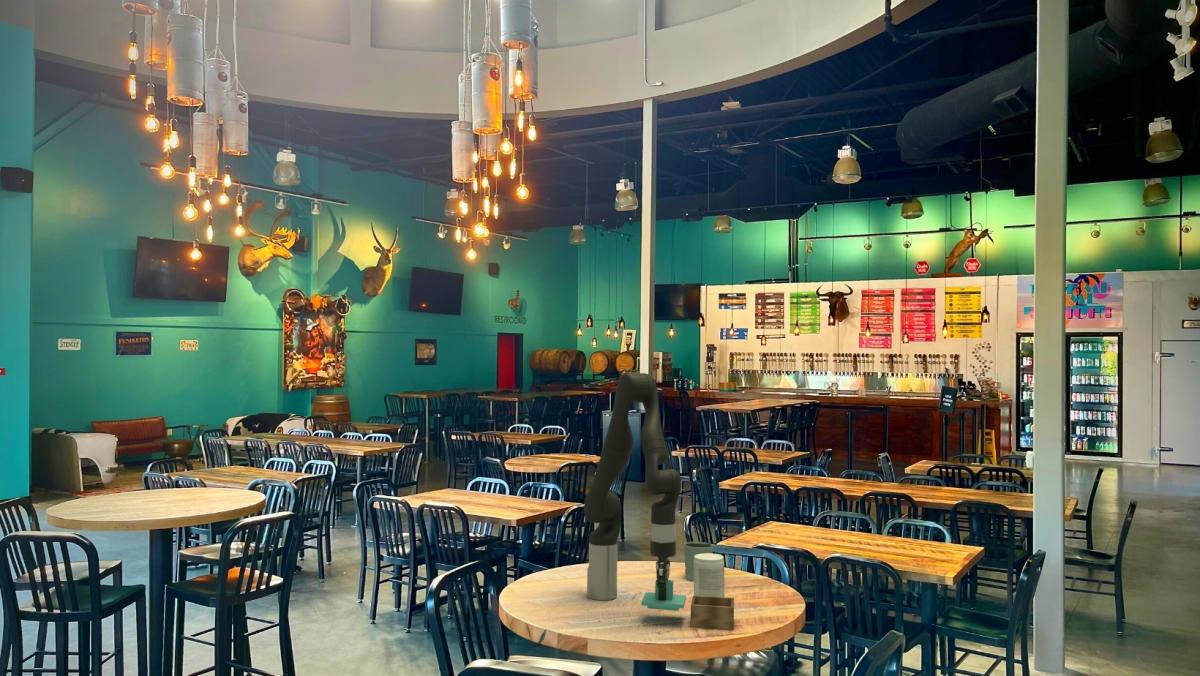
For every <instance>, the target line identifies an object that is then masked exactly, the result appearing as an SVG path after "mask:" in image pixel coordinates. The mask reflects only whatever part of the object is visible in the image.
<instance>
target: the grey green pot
mask: <svg viewBox="0 0 1200 676" xmlns="http://www.w3.org/2000/svg"><path fill="white" fill-rule="evenodd" d="M713 549H714V545H713V544H712V543H710V542H703V541H688V542H684V543H683V556H684V567H685V569H684V576H685V580H686V579H687V581H688V580H689V582H692V581H694V556H695V555H697V554H704V553H711V554H713Z"/></svg>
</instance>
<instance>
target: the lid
mask: <svg viewBox="0 0 1200 676" xmlns="http://www.w3.org/2000/svg"><path fill="white" fill-rule="evenodd" d="M660 582H664V581H661V580H660ZM654 584H655V585H654V592H647V591H645V593H644V596H643V597H642V600H641V601H640V602H641V603H640V604H641V606H646V608H647V609H650V610H660V611H661V610H662V611H663V610H664V611H677V612H679V609H684V607H685V603H686V600H687V595H685V594H674V580H671V579H668V580H667V587H666V600H665V601H663V600H659V599H658V587H657V578H656V580H655V582H654Z"/></svg>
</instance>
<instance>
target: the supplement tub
mask: <svg viewBox="0 0 1200 676" xmlns="http://www.w3.org/2000/svg"><path fill="white" fill-rule="evenodd" d="M693 595H695V596H711V597H726V596H725V558H724V556H723V555H722V554H717V553H712V554H711V553H704V554H697V555H695V556H694V582H693Z"/></svg>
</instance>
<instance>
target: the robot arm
mask: <svg viewBox="0 0 1200 676" xmlns="http://www.w3.org/2000/svg"><path fill="white" fill-rule="evenodd" d="M657 389H658V388H657V383H656V380H655V378H654V376H652V375H651V374H649V373H644V372H633V371H632V372H630V371H628V372H624V373H622V375H621V376H620V377H619V379H618V382H617V387H616V390H615V396H614V401H613V407H612V411H611V412H612V414H611V418H610V421H609V424H608V428H607V433H606V435H605V438H604V442H603V445H602V449H601V453H600V457H599V461H598V465H597V468H596V471H595V474H594V477H593V479H592V482H591V485H590V487H589V490H588V492H587V495H586V497H585V500H584V505H583V511H584V512H583V513H584V516H585V519H586V520H587V522H589V523H592V524H598V526H597V527H596V528H595V529H594V530H593V531H592V532H590V533H589V536H588V567H587V572H586V573H587V576H586V577H587V578H586V581H587V582H586V585H587V586H586V598H587V599H591V600H597V601H611V600H614V599H616V598H617V597H618V543H619V542H618V540H619V537H620V534H621V519H622V505H621V503H622V502H621V500H620V497H619V496H618V495H617V493H615V492H611V491H610V489H611V487H612V485H613V484H614V482H616V480H617V479H618V478H619V476H620V475H621V473H622V472H623V471H624V470H625V468H626V467H627V466H628V464H629V462H630V460H631V455H632V452H633V449H634V445H635V441H634V439H635V438H634V435H633V431H632V428H631V425H630V421H629V414H630V408H631V405H632V403H642V406H643V409H644V412H645V416H644V421H643V425H642V428H641V431H640V438H639V439H640V444H641V449H642V453H643V457H644V464H645V475H644V484H645V487H646V490H647V491H648V492H649V493H650V494H651V495H655V496H656V495H657V496H658V495H663V498H662V499H661V500H659V501H656V502H654V503H652V504H651V508H650V509H651V511H650V513H651V514H650V534H649V542H650V544H649V545H650V546H649V549H650V550H649V553H650V556H653V557H657V558H658V559H657V560H656V562H655V572H656V573H655V574H656V577H655V578H656V579H657V587H658V599H659V600H663V601H665V600H666V587H667V580H669V578H670V577H669V576H670V574H671V573H670V569H671V568H670V567H671V560H670V558H672V557H674V556H676V555H677V528H676V509H677V504H678V500H679V496H680V493H681V490H682V485H683V484H682V477H681V475H680V473H679V472H678V471H677V470H676V469H674V468H672V469H669V468H668V469H667V468H666V469H659V466H660V465H663V464H665V463H666V462H668V460H669V453H668V449H667V445H666V441H665V439H664V438H665V437H664V434H663V429H662V423H661V413H660V405H659V395H658V390H657ZM660 580H661V581H664V582H660Z"/></svg>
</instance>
